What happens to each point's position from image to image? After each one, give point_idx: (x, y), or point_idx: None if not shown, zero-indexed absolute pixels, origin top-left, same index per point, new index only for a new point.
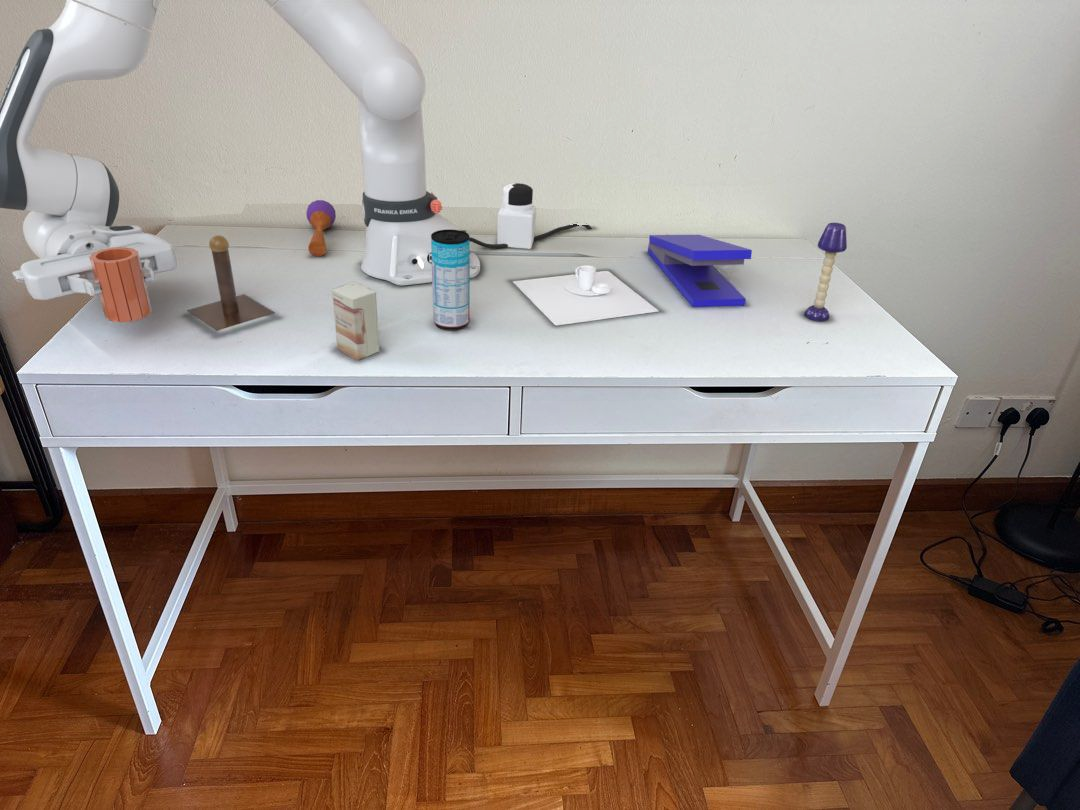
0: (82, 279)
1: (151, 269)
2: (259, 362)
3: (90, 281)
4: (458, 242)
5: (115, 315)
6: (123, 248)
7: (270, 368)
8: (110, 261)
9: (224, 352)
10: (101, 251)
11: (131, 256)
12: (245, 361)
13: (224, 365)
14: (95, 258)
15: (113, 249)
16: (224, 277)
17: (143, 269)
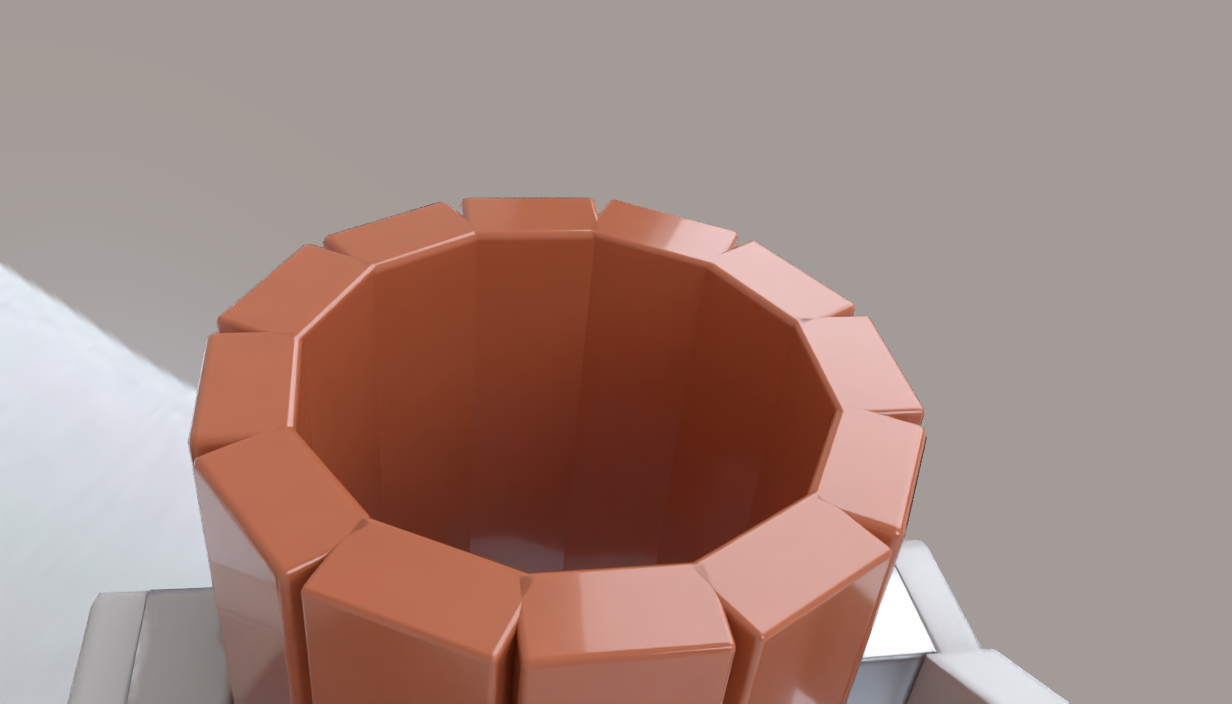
0: (1003, 693)
1: (106, 595)
2: (32, 414)
3: (901, 603)
4: None
5: None
6: (330, 516)
7: (46, 352)
8: (670, 229)
9: (76, 595)
10: (724, 559)
11: (387, 236)
12: (75, 455)
13: (190, 473)
14: (840, 361)
15: (500, 571)
16: None
17: (186, 651)
